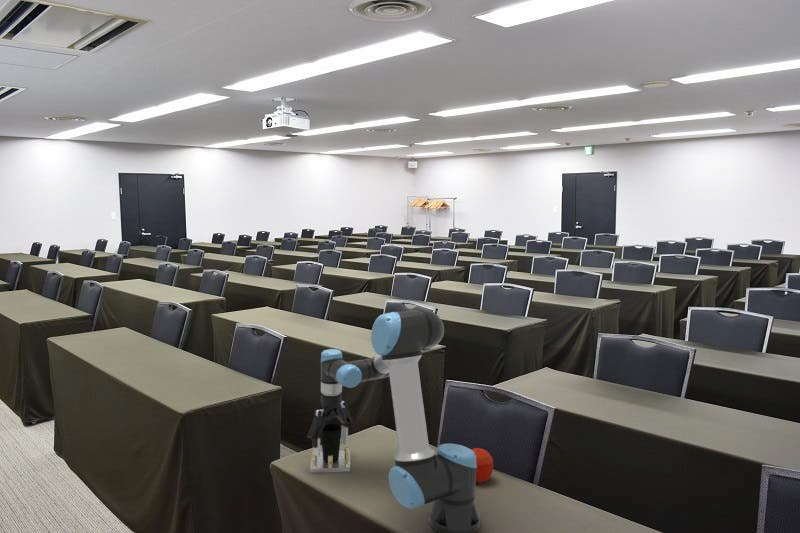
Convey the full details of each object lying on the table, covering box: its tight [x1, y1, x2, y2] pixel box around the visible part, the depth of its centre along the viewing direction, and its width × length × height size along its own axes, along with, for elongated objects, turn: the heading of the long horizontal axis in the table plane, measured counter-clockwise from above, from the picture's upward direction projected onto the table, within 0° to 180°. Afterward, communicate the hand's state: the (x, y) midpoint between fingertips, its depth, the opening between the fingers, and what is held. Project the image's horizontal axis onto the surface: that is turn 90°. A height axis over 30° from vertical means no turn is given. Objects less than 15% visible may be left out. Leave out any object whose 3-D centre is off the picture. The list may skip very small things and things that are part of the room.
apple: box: [470, 447, 494, 484], centre depth 194 cm, size 10×10×12 cm
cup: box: [320, 423, 342, 462], centre depth 204 cm, size 8×8×12 cm
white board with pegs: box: [309, 447, 351, 474], centre depth 204 cm, size 14×14×6 cm
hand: (330, 449), depth 204 cm, fingers open, 13 cm apart
